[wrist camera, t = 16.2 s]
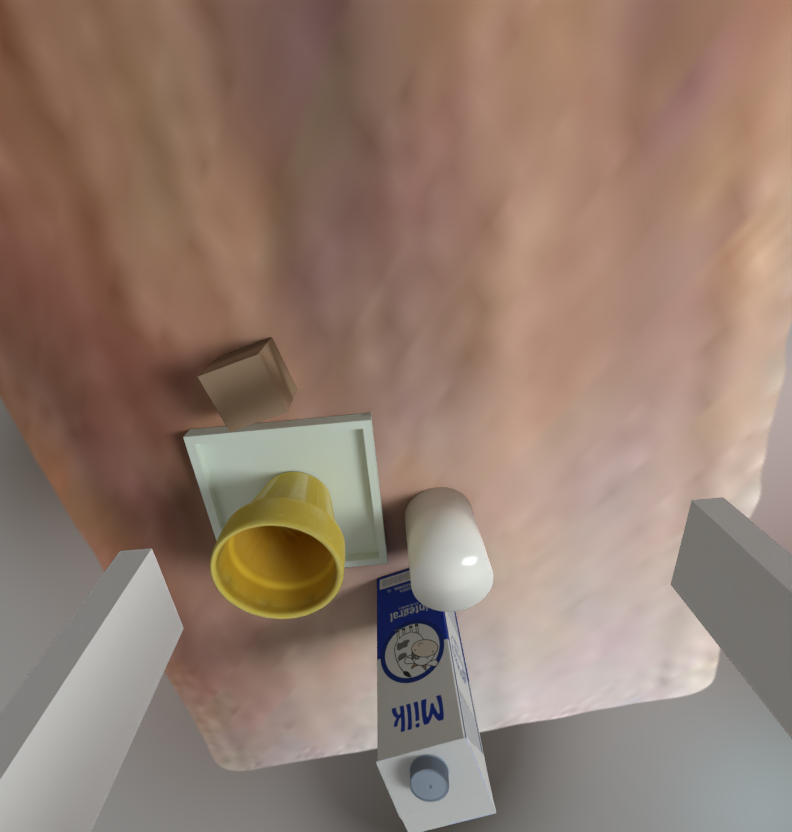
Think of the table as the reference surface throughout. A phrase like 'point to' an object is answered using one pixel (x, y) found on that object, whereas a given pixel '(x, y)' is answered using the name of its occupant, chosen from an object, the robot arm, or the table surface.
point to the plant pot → (281, 550)
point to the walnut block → (249, 385)
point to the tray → (296, 452)
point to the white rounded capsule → (446, 551)
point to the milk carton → (426, 713)
